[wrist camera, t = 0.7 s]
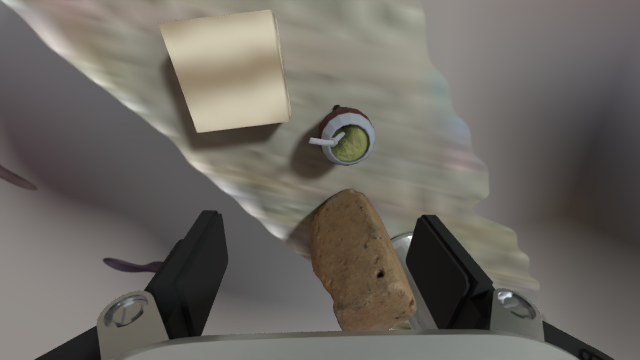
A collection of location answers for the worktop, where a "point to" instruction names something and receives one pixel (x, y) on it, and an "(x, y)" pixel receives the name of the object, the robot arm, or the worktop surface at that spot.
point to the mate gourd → (345, 136)
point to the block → (359, 265)
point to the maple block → (230, 69)
